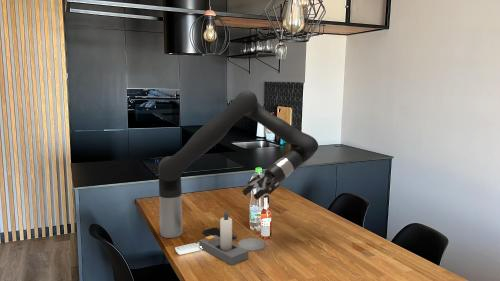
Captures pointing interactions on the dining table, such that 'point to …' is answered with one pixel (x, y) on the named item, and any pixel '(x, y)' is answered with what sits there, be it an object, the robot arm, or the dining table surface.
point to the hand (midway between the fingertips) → (249, 195)
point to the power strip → (230, 257)
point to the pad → (251, 244)
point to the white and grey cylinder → (226, 233)
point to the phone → (215, 232)
